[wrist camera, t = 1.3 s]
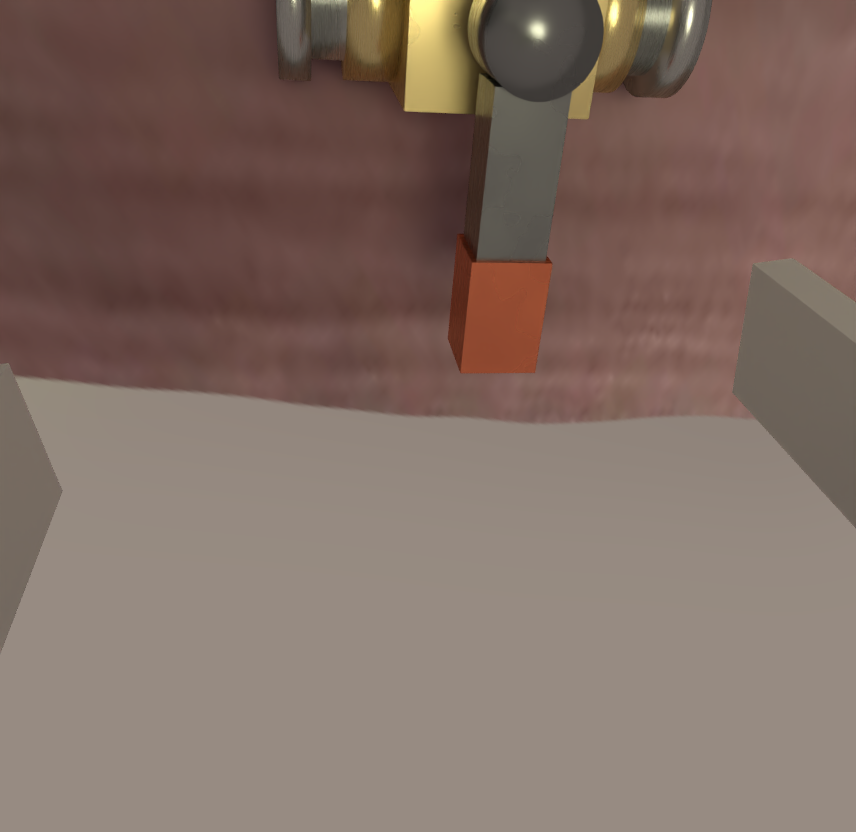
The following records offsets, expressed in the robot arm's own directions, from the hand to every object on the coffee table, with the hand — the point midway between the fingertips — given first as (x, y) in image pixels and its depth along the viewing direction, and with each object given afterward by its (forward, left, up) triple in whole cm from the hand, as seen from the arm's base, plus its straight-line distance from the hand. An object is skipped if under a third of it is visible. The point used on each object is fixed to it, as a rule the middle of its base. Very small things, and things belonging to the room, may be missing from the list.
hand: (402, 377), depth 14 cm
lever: (+6, -1, -16) cm, 17 cm away
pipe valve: (+6, +4, -25) cm, 26 cm away
